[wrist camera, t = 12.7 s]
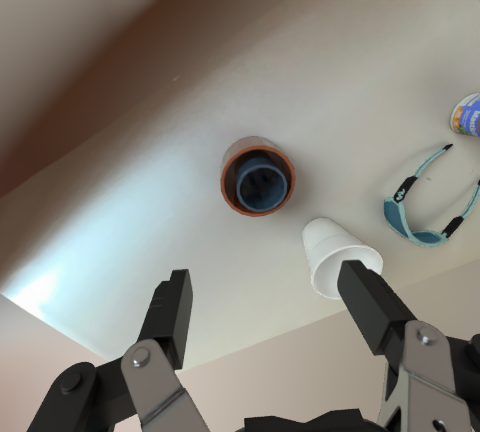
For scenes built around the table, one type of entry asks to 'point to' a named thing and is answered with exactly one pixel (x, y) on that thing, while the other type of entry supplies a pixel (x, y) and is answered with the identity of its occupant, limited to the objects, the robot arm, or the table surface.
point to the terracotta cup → (229, 174)
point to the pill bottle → (467, 116)
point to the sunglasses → (397, 212)
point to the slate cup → (259, 181)
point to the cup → (334, 254)
